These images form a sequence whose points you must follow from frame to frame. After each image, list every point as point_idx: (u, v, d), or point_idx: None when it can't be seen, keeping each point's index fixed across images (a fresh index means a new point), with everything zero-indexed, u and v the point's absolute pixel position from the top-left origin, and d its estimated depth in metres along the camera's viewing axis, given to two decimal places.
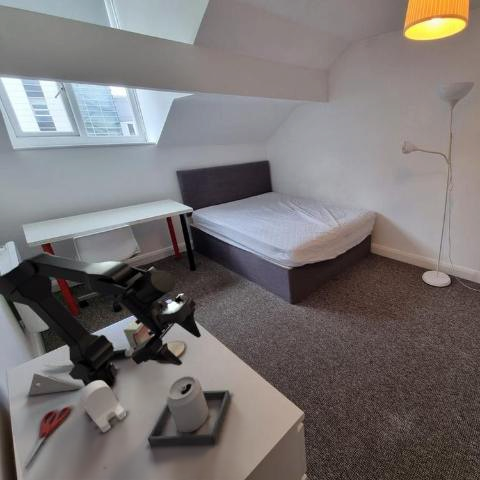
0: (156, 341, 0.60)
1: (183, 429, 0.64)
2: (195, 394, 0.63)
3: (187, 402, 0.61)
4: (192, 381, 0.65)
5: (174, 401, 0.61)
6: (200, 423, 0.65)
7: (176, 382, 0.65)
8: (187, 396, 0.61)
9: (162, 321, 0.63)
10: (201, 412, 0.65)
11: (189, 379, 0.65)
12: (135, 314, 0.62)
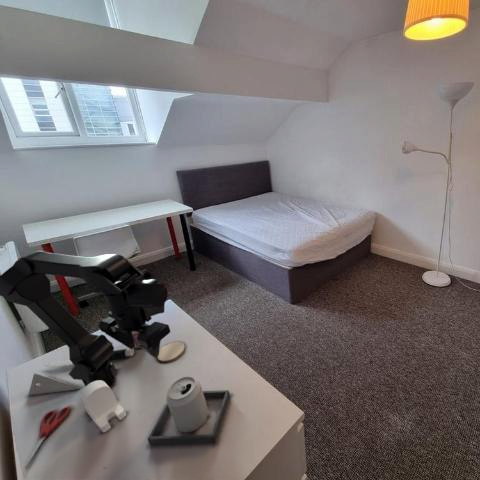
0: None
1: (183, 429, 0.64)
2: (195, 394, 0.63)
3: (187, 402, 0.61)
4: (192, 381, 0.65)
5: (174, 401, 0.61)
6: (200, 423, 0.65)
7: (176, 382, 0.65)
8: (187, 396, 0.61)
9: (151, 311, 0.70)
10: (201, 412, 0.65)
11: (189, 379, 0.65)
12: (113, 310, 0.63)
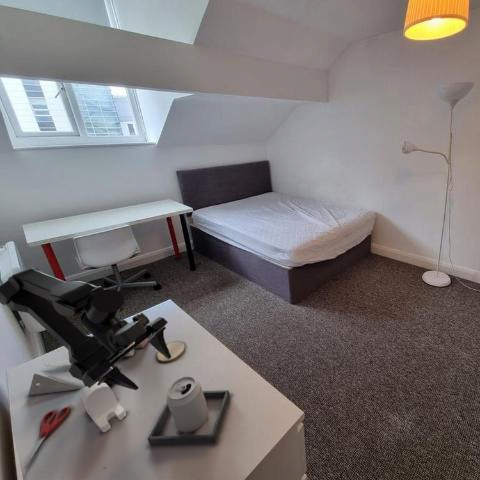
0: (102, 364, 0.57)
1: (183, 429, 0.64)
2: (195, 394, 0.63)
3: (187, 402, 0.61)
4: (192, 381, 0.65)
5: (174, 401, 0.61)
6: (200, 423, 0.65)
7: (176, 382, 0.65)
8: (187, 396, 0.61)
9: (114, 342, 0.60)
10: (201, 412, 0.65)
11: (189, 379, 0.65)
12: (93, 335, 0.62)
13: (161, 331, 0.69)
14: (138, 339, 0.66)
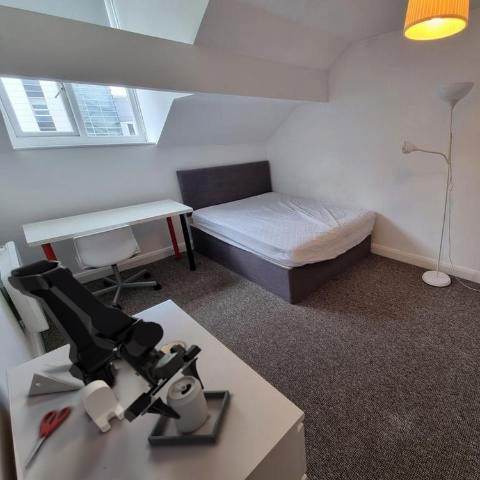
0: (144, 399, 0.57)
1: (183, 429, 0.64)
2: (195, 394, 0.63)
3: (187, 402, 0.61)
4: (192, 381, 0.65)
5: (174, 401, 0.61)
6: (200, 423, 0.65)
7: (176, 382, 0.65)
8: (187, 396, 0.61)
9: (153, 375, 0.60)
10: (201, 412, 0.65)
11: (189, 379, 0.65)
12: (132, 367, 0.61)
13: (194, 362, 0.68)
14: None
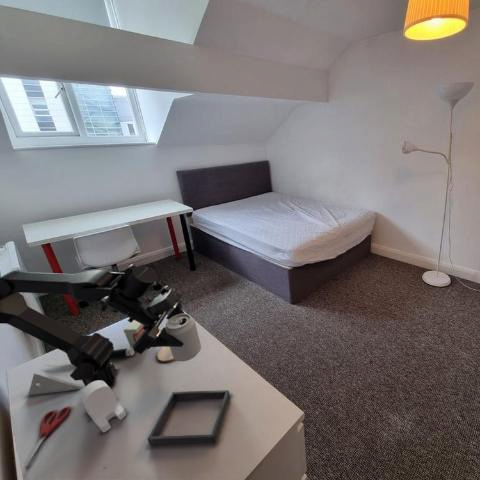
0: (152, 329, 0.65)
1: (184, 357, 0.73)
2: (193, 323, 0.74)
3: (188, 329, 0.72)
4: (185, 316, 0.75)
5: (176, 330, 0.70)
6: (198, 350, 0.76)
7: (170, 320, 0.73)
8: (187, 324, 0.72)
9: (153, 312, 0.68)
10: (198, 340, 0.76)
11: (181, 316, 0.75)
12: (126, 312, 0.67)
13: (180, 304, 0.77)
14: (163, 312, 0.74)
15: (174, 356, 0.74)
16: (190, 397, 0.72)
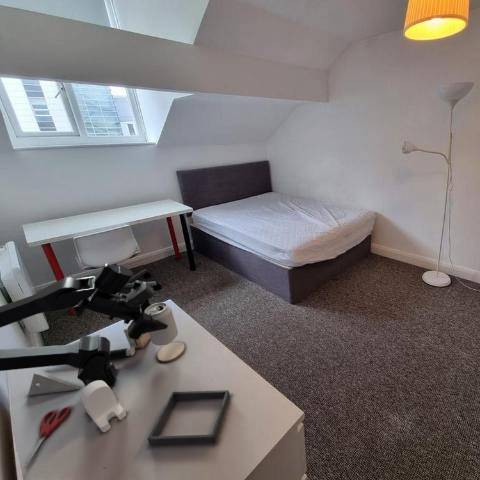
0: (144, 314, 0.73)
1: (168, 338, 0.83)
2: (169, 307, 0.84)
3: (169, 311, 0.82)
4: (158, 305, 0.83)
5: (160, 315, 0.79)
6: (177, 331, 0.86)
7: (146, 311, 0.80)
8: (166, 308, 0.82)
9: (136, 302, 0.75)
10: None
11: (154, 306, 0.83)
12: (108, 310, 0.71)
13: None
14: None
15: (157, 341, 0.82)
16: (190, 397, 0.72)
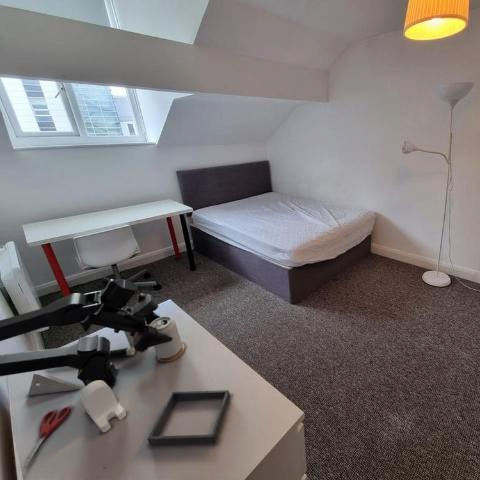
0: (149, 327, 0.75)
1: (173, 351, 0.85)
2: (173, 321, 0.86)
3: (173, 325, 0.84)
4: (163, 319, 0.86)
5: (164, 329, 0.82)
6: (181, 344, 0.88)
7: (151, 325, 0.83)
8: (171, 322, 0.84)
9: (141, 315, 0.77)
10: None
11: (159, 320, 0.85)
12: (114, 324, 0.73)
13: None
14: None
15: (162, 355, 0.84)
16: (190, 397, 0.72)
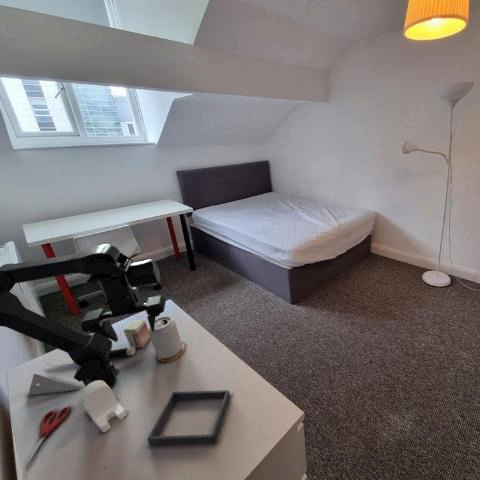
0: None
1: (173, 351, 0.85)
2: (173, 321, 0.86)
3: (173, 325, 0.84)
4: (163, 319, 0.86)
5: (164, 329, 0.82)
6: (181, 344, 0.88)
7: None
8: (171, 322, 0.84)
9: (137, 294, 0.77)
10: None
11: (159, 320, 0.85)
12: (112, 295, 0.69)
13: None
14: None
15: (162, 355, 0.84)
16: (190, 397, 0.72)
